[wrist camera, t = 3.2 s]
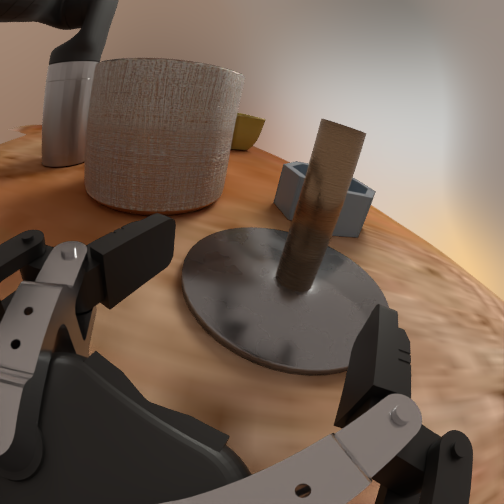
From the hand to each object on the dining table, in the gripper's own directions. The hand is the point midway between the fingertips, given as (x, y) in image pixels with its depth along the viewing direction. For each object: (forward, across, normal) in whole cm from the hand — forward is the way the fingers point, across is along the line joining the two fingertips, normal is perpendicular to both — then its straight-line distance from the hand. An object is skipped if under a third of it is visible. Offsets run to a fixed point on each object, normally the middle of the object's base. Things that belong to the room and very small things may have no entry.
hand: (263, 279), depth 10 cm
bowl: (+29, +1, +7) cm, 30 cm away
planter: (+18, +21, +7) cm, 28 cm away
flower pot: (+57, +28, +7) cm, 64 cm away
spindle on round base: (+10, 0, +7) cm, 13 cm away
